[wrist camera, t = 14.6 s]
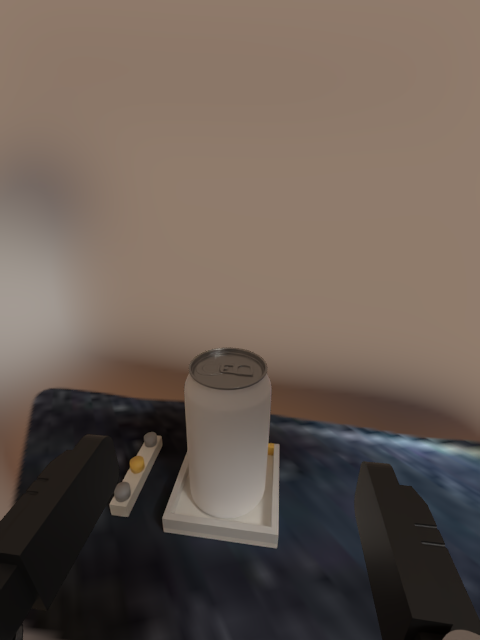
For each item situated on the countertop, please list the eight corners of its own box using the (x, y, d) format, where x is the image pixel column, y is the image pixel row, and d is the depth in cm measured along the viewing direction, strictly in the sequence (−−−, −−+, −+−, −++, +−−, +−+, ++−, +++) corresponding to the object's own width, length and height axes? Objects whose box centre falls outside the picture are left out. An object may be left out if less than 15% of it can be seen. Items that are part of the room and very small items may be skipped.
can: (198, 453, 30) (193, 343, 25) (264, 458, 29) (272, 346, 25) (181, 519, 24) (171, 389, 19) (265, 525, 23) (275, 395, 19)
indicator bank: (162, 445, 31) (160, 429, 30) (128, 517, 24) (124, 499, 23) (149, 443, 31) (147, 428, 31) (111, 514, 24) (107, 497, 24)
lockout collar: (278, 455, 30) (279, 444, 30) (276, 548, 22) (278, 535, 22) (193, 446, 31) (193, 435, 30) (163, 531, 23) (162, 518, 23)
